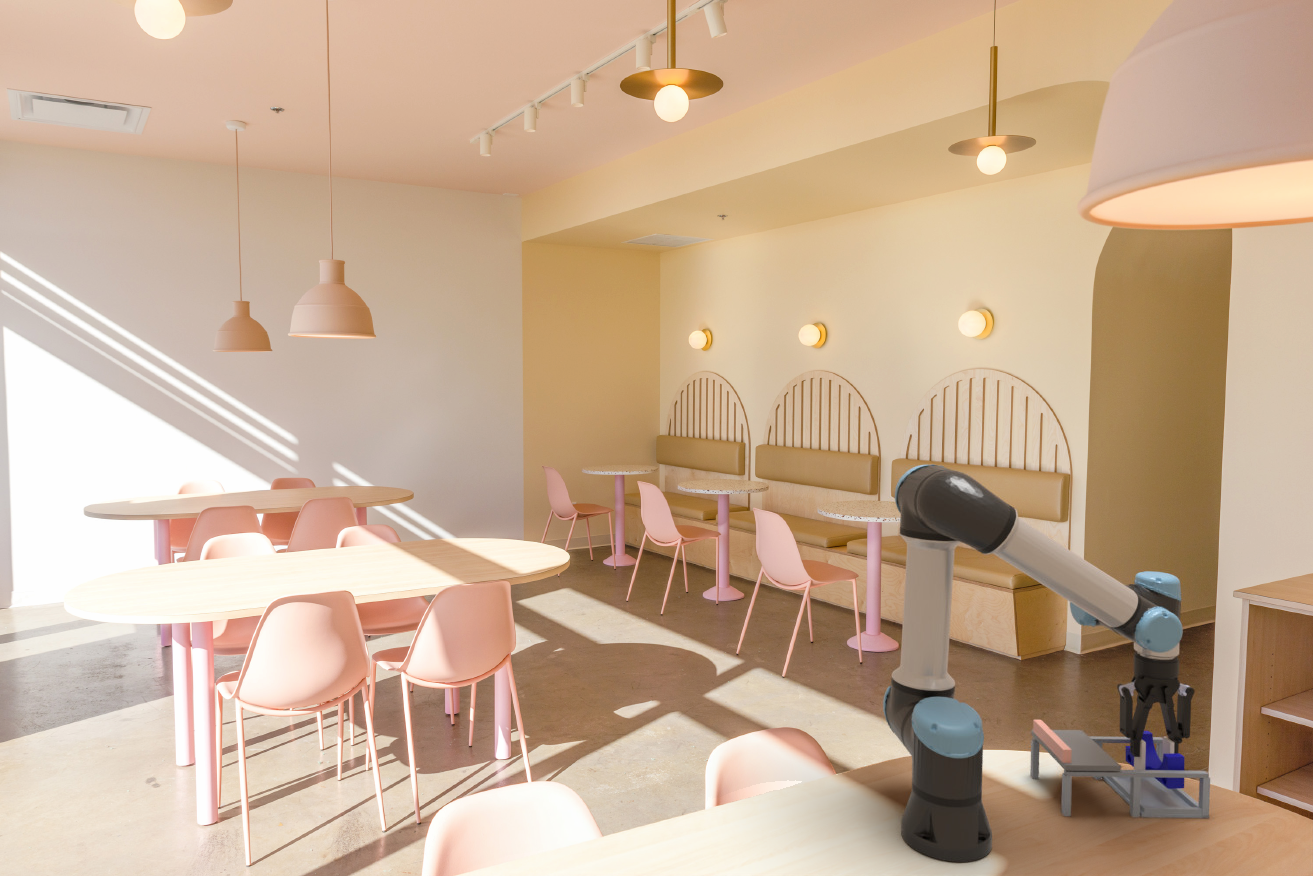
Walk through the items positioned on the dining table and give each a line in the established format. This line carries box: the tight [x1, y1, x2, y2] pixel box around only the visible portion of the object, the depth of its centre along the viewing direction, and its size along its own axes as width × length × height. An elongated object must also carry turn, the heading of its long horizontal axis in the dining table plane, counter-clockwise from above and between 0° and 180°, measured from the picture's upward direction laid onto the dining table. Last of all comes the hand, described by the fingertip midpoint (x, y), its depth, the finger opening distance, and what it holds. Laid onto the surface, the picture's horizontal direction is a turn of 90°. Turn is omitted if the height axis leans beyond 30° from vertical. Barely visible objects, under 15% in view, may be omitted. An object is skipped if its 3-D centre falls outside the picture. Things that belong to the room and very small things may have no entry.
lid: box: [1030, 719, 1122, 771], centre depth 164 cm, size 10×16×4 cm, turn 177°
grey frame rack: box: [1029, 735, 1211, 819], centre depth 164 cm, size 26×16×8 cm, turn 87°
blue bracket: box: [1125, 730, 1185, 789], centre depth 163 cm, size 12×4×6 cm, turn 179°
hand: (1153, 772), depth 164 cm, fingers closed on blue bracket, 5 cm apart
